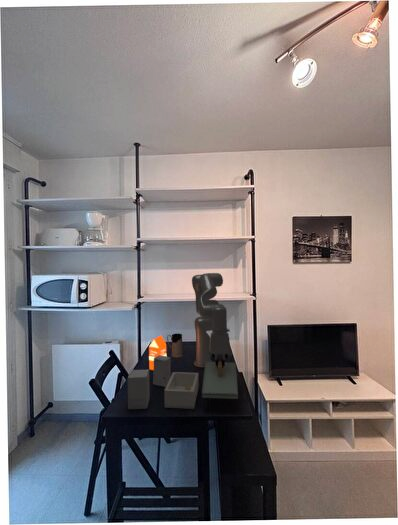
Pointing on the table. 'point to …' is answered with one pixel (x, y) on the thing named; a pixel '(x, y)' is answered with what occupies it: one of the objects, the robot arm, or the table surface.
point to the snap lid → (220, 381)
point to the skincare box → (161, 370)
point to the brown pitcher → (176, 345)
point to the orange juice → (156, 350)
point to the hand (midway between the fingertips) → (220, 366)
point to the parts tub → (181, 390)
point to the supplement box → (138, 389)
